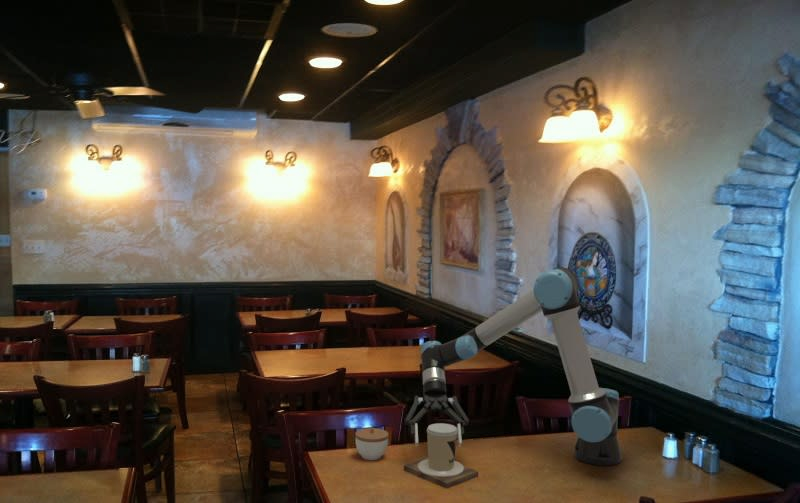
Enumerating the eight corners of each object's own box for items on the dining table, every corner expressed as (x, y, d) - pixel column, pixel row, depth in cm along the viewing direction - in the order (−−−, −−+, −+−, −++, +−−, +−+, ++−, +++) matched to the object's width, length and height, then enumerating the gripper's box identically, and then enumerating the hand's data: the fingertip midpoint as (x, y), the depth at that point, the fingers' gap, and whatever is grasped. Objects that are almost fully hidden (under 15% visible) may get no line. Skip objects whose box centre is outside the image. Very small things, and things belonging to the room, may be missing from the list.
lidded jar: (394, 457, 226) (395, 428, 225) (371, 465, 218) (371, 436, 217) (371, 448, 233) (372, 421, 232) (347, 456, 225) (348, 427, 225)
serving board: (478, 476, 211) (478, 469, 211) (446, 488, 202) (446, 481, 202) (434, 459, 224) (435, 453, 224) (403, 470, 215) (403, 463, 215)
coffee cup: (454, 473, 207) (455, 433, 207) (423, 470, 209) (424, 431, 209) (458, 462, 217) (459, 424, 216) (428, 459, 218) (429, 421, 218)
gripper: (470, 390, 235) (476, 450, 221) (396, 390, 233) (397, 449, 219) (473, 379, 229) (479, 439, 215) (397, 378, 228) (399, 439, 214)
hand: (438, 444), depth 217 cm, fingers open, 13 cm apart
